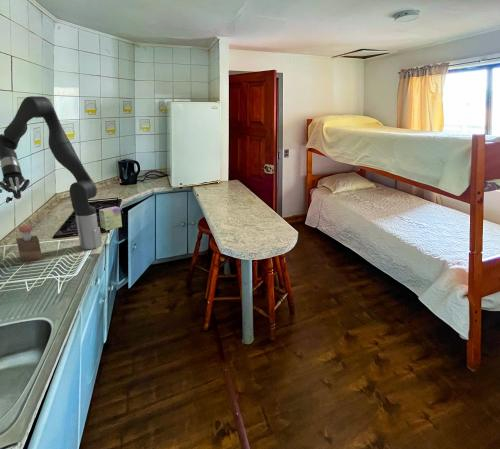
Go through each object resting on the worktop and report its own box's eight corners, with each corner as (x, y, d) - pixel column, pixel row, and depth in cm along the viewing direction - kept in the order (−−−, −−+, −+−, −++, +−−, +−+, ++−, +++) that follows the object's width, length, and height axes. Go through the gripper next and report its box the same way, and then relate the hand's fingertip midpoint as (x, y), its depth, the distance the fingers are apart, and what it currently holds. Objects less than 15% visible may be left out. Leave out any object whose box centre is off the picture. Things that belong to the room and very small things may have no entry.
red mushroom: (21, 246, 155) (17, 226, 152) (34, 244, 157) (30, 224, 155) (22, 249, 151) (18, 229, 148) (35, 247, 154) (32, 227, 151)
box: (117, 224, 205) (115, 206, 201) (122, 226, 201) (120, 207, 198) (100, 228, 197) (98, 209, 193) (105, 230, 194) (103, 211, 190)
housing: (20, 256, 156) (16, 238, 154) (40, 253, 161) (36, 235, 158) (21, 262, 150) (17, 243, 148) (42, 258, 155) (38, 240, 152)
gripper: (-7, 164, 156) (-1, 195, 151) (26, 162, 164) (34, 191, 159) (-5, 174, 162) (1, 204, 157) (27, 172, 170) (34, 200, 164)
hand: (18, 198), depth 158 cm, fingers closed
